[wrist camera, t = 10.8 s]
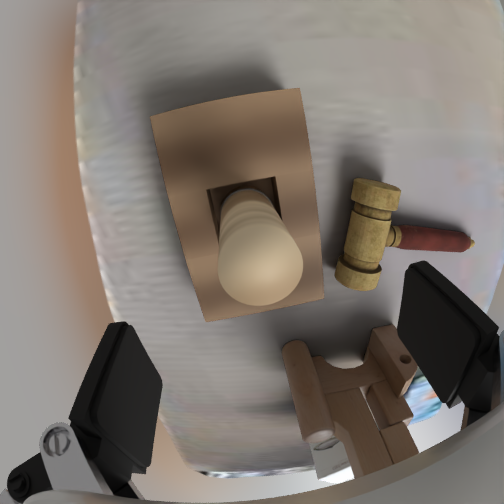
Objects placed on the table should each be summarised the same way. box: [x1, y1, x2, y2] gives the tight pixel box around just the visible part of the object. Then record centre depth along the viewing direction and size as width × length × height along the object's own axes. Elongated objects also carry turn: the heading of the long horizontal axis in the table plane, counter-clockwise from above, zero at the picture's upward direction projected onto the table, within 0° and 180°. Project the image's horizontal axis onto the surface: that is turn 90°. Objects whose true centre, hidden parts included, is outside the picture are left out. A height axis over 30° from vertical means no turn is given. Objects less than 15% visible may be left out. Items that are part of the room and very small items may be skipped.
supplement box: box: [309, 435, 354, 484], centre depth 34 cm, size 7×7×13 cm
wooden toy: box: [282, 324, 419, 479], centre depth 22 cm, size 15×7×25 cm, turn 93°
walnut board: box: [150, 88, 324, 322], centre depth 23 cm, size 18×11×4 cm, turn 10°
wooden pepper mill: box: [218, 186, 303, 306], centre depth 19 cm, size 4×4×12 cm
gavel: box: [335, 178, 475, 291], centre depth 27 cm, size 21×5×10 cm
